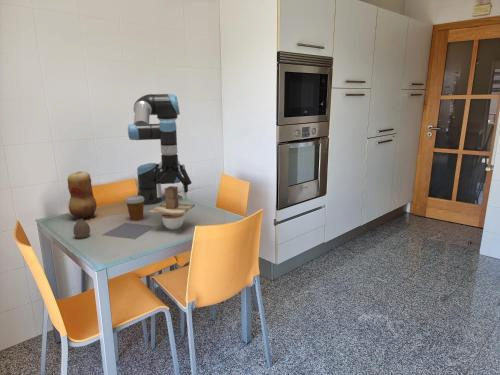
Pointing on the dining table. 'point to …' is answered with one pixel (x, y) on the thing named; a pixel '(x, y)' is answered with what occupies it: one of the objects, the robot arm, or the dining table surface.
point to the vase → (81, 229)
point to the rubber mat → (129, 230)
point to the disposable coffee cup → (135, 207)
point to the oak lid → (172, 204)
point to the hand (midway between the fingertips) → (172, 197)
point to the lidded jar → (172, 221)
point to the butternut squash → (81, 195)
